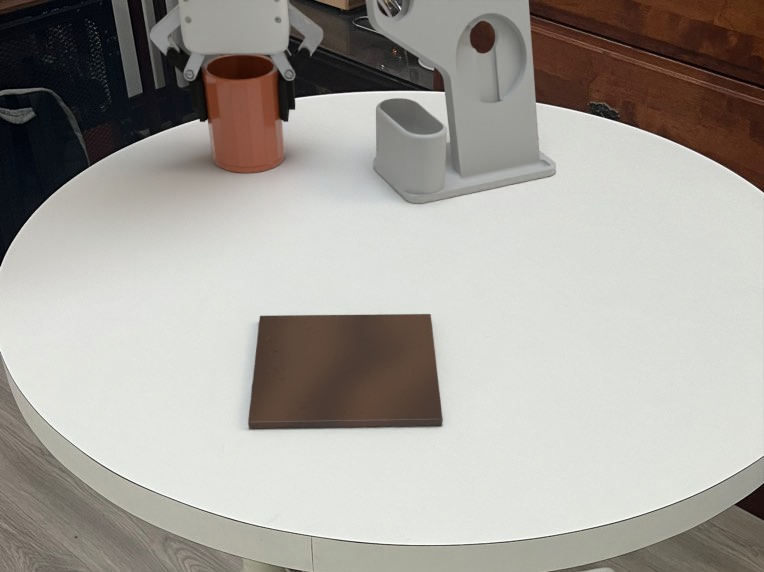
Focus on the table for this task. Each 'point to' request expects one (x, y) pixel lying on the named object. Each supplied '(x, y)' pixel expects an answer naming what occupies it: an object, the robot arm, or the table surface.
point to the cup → (244, 112)
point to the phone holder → (461, 102)
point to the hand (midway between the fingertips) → (245, 115)
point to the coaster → (345, 372)
